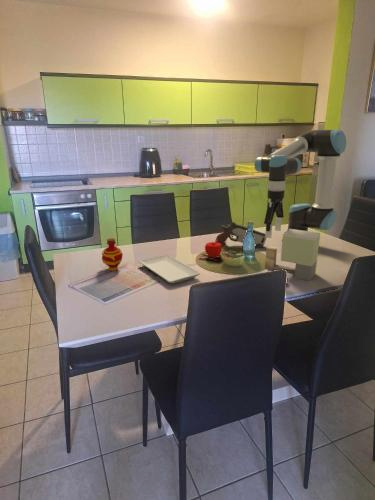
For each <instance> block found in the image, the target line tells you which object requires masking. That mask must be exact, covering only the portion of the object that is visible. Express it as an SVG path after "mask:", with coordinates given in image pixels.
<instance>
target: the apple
mask: <svg viewBox="0 0 375 500" xmlns="http://www.w3.org/2000/svg"><path fill="white" fill-rule="evenodd" d="M222 248H223V245H221V244H220V243H217V242H215V241H211V242H206V244H205V246H204V250H205V253H206V255H207V256H208V257H209V258H213V259H216V258H219V257H220V254H221V252H222ZM210 256H211V257H210ZM217 256H218V257H217Z"/></svg>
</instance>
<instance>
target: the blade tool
mask: <svg viewBox="0 0 375 500" xmlns="http://www.w3.org/2000/svg"><path fill="white" fill-rule="evenodd" d="M265 249H266V250H265V259H264V260H265V263H264V268H266V269H270V270H277V271H281V270H282V269H283V270H286V271H287V273H291V274H295V267H292V266H291V267H290V266H285V265H281V264H280V265H279V264H277V254H278V253H277V252H278V247H277V246H276V247H275V246H270V245H268V247H266V248H265ZM286 271H285V272H286Z"/></svg>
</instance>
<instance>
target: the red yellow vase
mask: <svg viewBox="0 0 375 500" xmlns="http://www.w3.org/2000/svg"><path fill="white" fill-rule="evenodd" d="M116 243H117V242H116V238H113V237H111V238H107V239H106V244H107V245H108V246H107V247H106V248H104V249H103V250H102V252H101V261H102V263H103V264H105V265H106V266H107V267H108V268H107V270H109V271H112V272H113V271H114V272H115V271H117V270H119V265H120V263H121V262H122V260H123V257H124V254H123V252H122V249H121V248H119V247H117V246H116Z"/></svg>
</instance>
